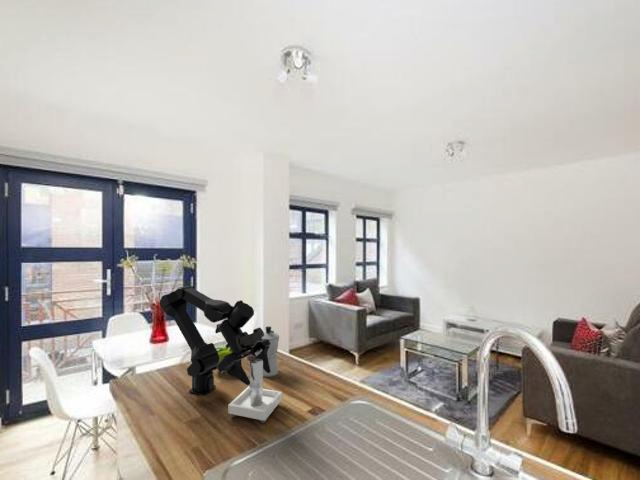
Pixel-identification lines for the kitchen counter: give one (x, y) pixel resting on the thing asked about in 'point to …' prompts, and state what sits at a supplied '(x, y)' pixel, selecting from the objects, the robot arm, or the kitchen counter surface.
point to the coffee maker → (271, 352)
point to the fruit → (223, 352)
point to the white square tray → (259, 412)
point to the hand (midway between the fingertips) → (259, 378)
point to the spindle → (256, 382)
